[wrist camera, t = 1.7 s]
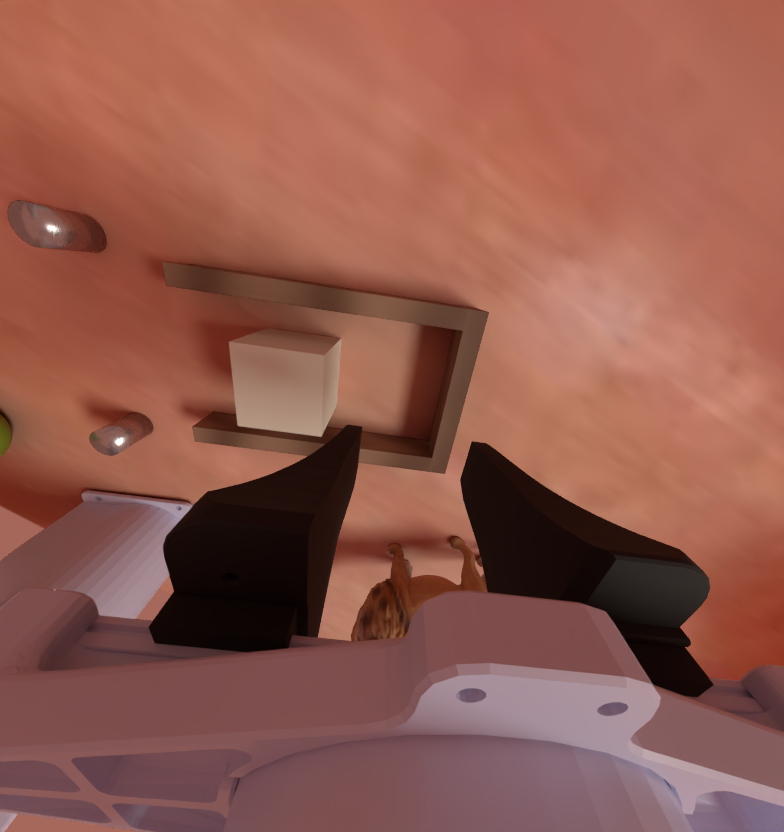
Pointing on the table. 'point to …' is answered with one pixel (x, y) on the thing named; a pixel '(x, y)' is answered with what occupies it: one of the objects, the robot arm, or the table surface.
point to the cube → (285, 380)
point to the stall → (356, 302)
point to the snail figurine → (4, 435)
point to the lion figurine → (409, 595)
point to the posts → (86, 236)
